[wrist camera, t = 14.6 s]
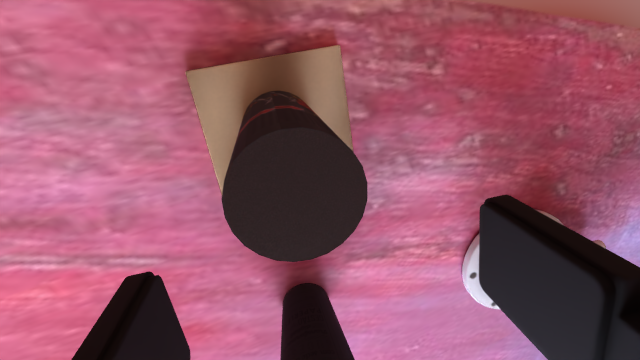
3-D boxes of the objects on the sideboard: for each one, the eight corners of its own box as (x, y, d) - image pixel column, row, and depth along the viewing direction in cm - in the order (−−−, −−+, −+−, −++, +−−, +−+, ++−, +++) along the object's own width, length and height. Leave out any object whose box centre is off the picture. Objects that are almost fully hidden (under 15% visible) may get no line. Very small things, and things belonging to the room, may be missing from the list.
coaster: (337, 45, 27) (340, 44, 26) (353, 170, 31) (356, 174, 30) (187, 70, 26) (184, 71, 25) (224, 197, 30) (223, 202, 29)
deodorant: (233, 99, 26) (201, 146, 12) (306, 83, 27) (357, 112, 13) (252, 168, 28) (244, 276, 14) (320, 153, 29) (375, 242, 15)
